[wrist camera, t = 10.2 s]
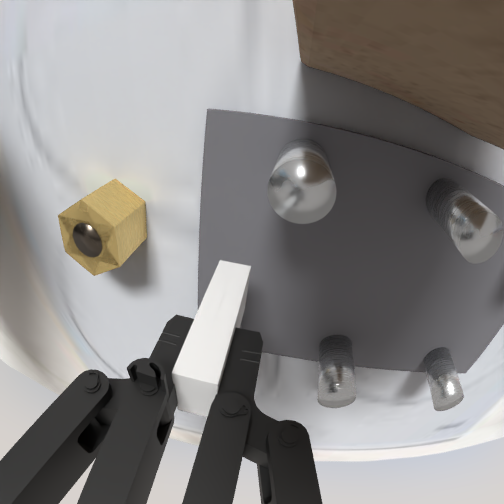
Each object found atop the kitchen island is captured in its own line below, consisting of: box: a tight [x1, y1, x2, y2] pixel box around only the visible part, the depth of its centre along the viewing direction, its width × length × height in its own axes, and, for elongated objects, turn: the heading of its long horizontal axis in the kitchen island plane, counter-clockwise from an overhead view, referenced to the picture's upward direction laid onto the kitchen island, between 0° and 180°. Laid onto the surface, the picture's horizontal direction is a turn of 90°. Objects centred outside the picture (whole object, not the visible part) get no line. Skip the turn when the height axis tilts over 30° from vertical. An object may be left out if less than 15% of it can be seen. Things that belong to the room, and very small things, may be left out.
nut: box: [58, 179, 147, 276], centre depth 16 cm, size 5×4×4 cm
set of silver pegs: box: [240, 139, 503, 411], centre depth 15 cm, size 21×14×4 cm
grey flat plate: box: [198, 109, 504, 373], centre depth 17 cm, size 24×16×1 cm, turn 82°
